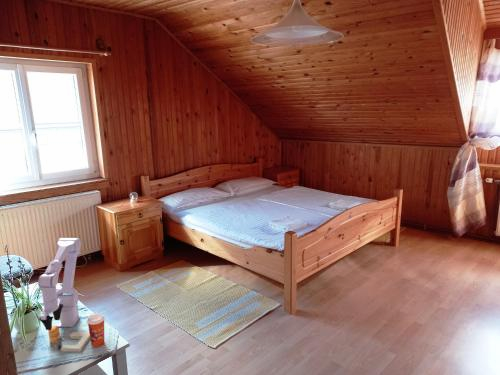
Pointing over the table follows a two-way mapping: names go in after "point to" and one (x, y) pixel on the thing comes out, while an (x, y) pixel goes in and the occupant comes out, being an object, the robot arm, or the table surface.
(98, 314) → the paper cup
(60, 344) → the hook post
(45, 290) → the robot arm
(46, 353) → the table surface
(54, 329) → the orange rounded cylinder
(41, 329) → the table surface
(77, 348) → the beige u-shaped block
